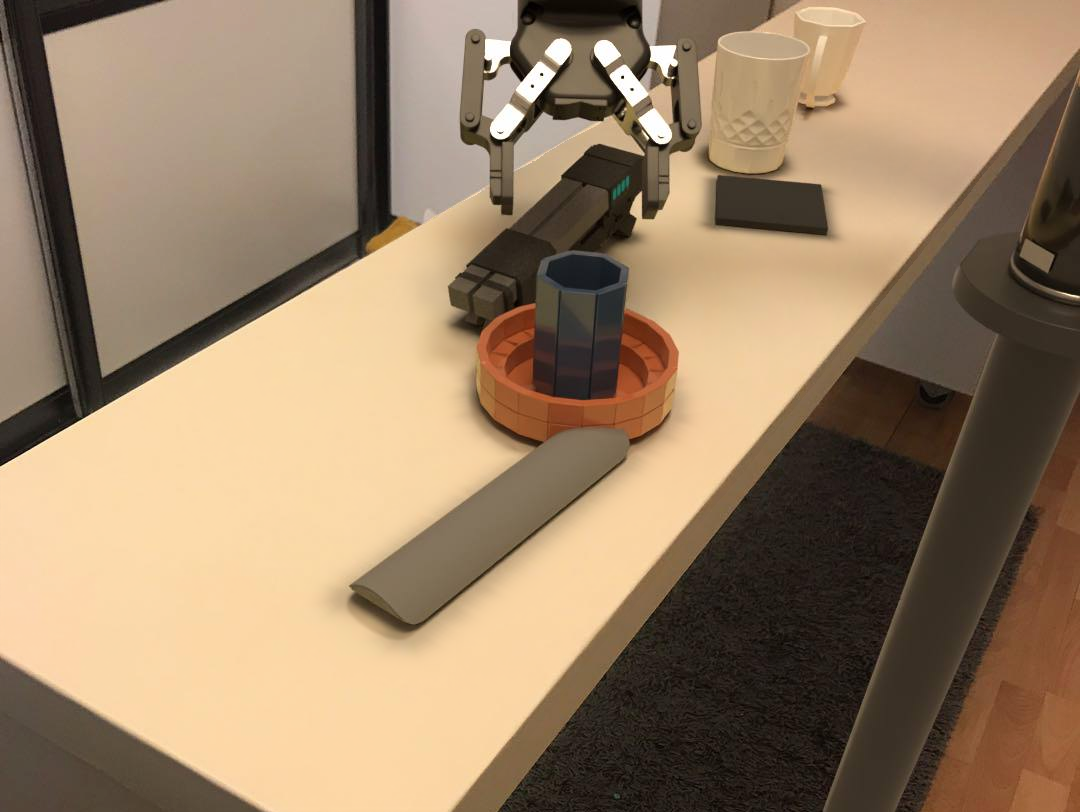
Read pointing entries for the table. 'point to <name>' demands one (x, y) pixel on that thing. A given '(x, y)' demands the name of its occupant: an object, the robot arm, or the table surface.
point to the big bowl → (542, 416)
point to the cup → (826, 50)
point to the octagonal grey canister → (579, 325)
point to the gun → (551, 232)
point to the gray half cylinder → (490, 523)
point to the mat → (770, 204)
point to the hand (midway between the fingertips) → (579, 212)
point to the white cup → (755, 99)
